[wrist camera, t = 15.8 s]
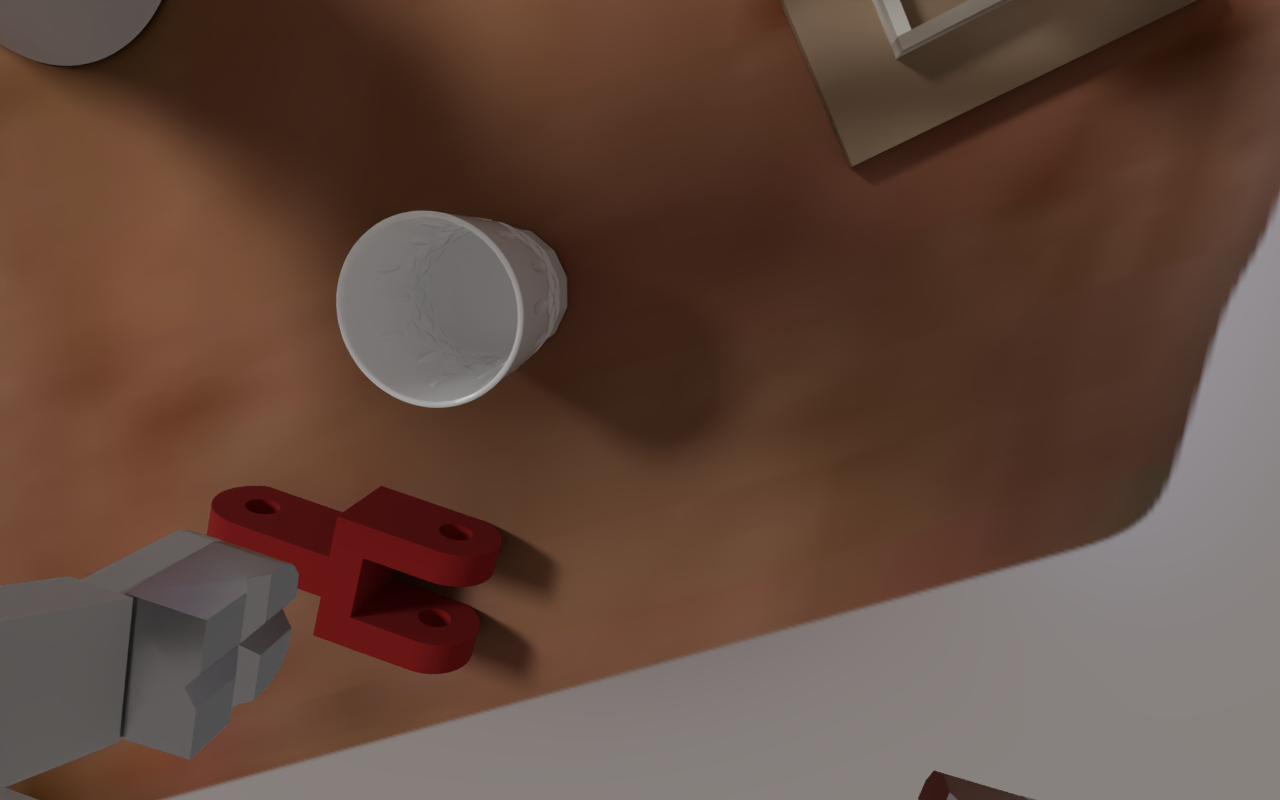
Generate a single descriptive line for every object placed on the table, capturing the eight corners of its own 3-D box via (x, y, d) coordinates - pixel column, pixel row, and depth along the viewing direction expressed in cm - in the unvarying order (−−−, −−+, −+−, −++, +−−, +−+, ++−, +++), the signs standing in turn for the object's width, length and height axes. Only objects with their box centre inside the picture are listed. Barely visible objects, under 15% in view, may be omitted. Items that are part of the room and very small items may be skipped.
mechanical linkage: (513, 529, 44) (483, 567, 39) (484, 636, 46) (451, 685, 41) (256, 441, 45) (196, 467, 40) (238, 549, 47) (178, 586, 42)
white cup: (468, 186, 40) (375, 175, 30) (605, 256, 40) (555, 268, 30) (413, 322, 42) (309, 353, 32) (542, 390, 42) (476, 441, 32)
